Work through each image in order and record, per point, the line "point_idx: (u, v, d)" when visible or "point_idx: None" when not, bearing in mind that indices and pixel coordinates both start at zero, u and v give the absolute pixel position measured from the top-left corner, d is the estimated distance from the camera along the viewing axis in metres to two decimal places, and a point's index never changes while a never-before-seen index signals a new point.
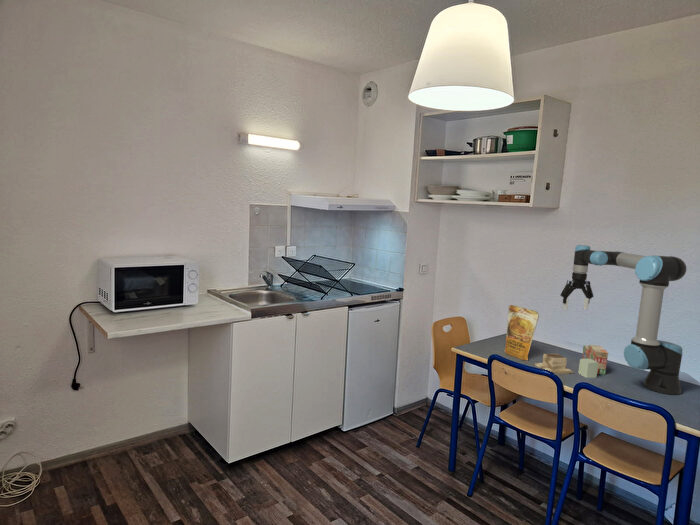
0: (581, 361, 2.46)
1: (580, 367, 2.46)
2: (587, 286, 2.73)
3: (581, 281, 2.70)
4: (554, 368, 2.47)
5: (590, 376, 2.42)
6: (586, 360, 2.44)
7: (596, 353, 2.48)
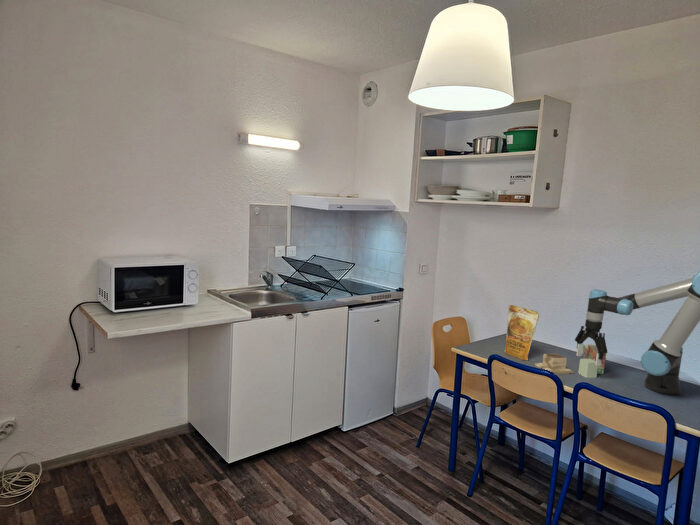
0: (581, 361, 2.46)
1: (580, 367, 2.46)
2: None
3: (592, 330, 2.41)
4: (554, 368, 2.47)
5: (590, 376, 2.42)
6: (586, 360, 2.45)
7: (594, 353, 2.49)
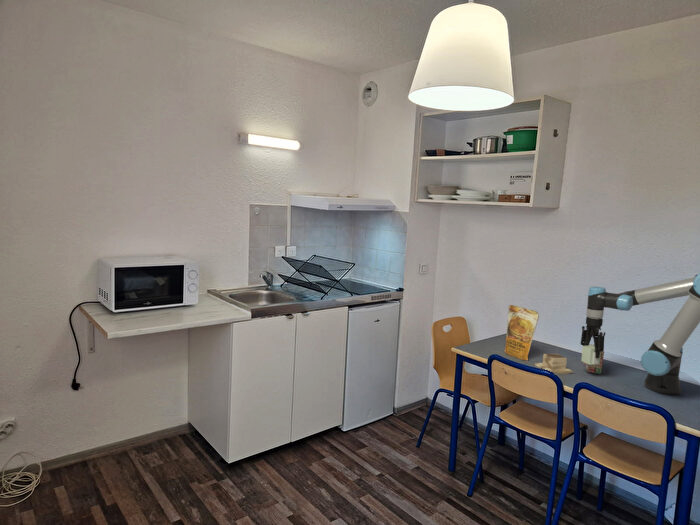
0: (584, 348, 2.44)
1: (583, 354, 2.45)
2: None
3: (594, 326, 2.40)
4: (554, 368, 2.47)
5: None
6: (589, 347, 2.43)
7: None
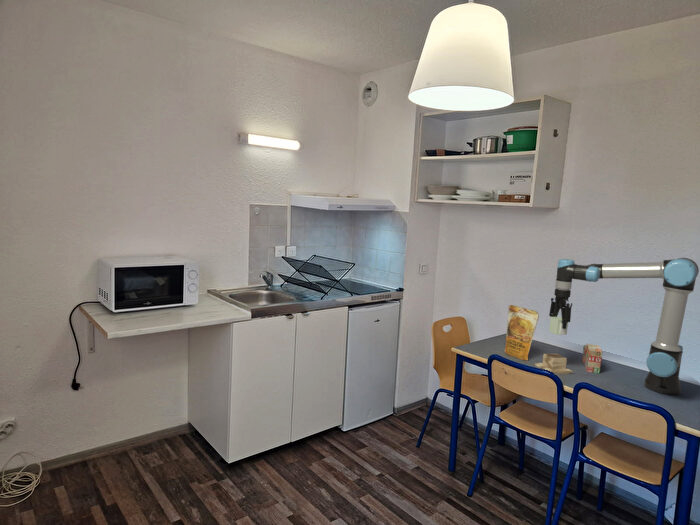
0: (552, 319, 2.50)
1: (551, 325, 2.50)
2: None
3: (561, 297, 2.46)
4: (554, 368, 2.47)
5: None
6: (556, 318, 2.49)
7: (590, 352, 2.50)
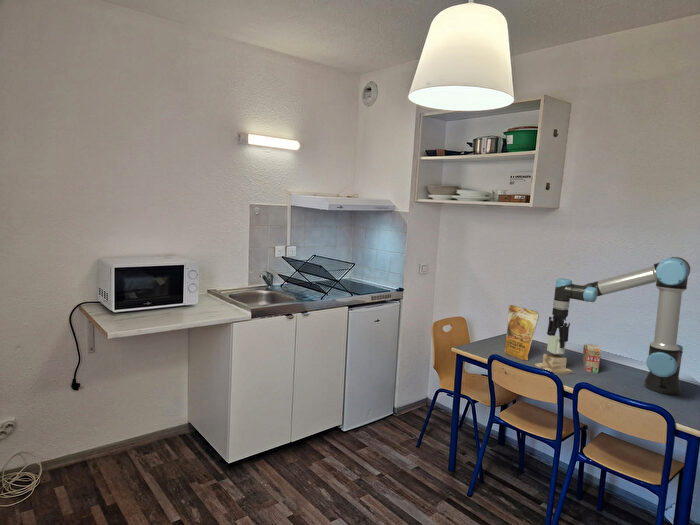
0: (549, 338, 2.51)
1: (549, 344, 2.52)
2: None
3: None
4: (554, 368, 2.47)
5: None
6: (554, 337, 2.50)
7: (589, 351, 2.50)
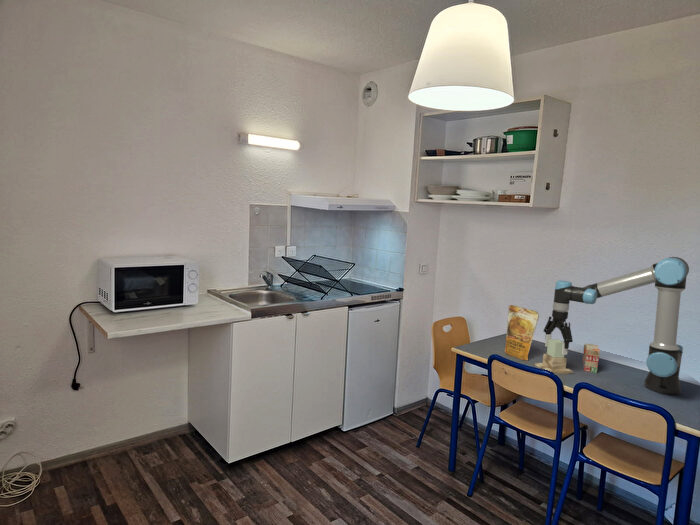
0: (549, 341, 2.51)
1: (548, 347, 2.52)
2: None
3: (558, 320, 2.47)
4: (554, 368, 2.47)
5: (558, 356, 2.48)
6: (554, 340, 2.50)
7: (587, 351, 2.51)
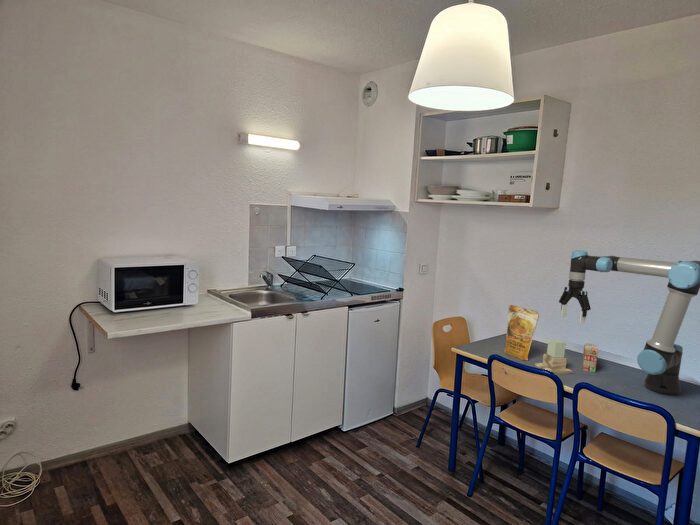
0: (549, 341, 2.51)
1: (548, 347, 2.52)
2: None
3: (575, 289, 2.50)
4: (554, 368, 2.47)
5: (558, 356, 2.48)
6: (554, 340, 2.50)
7: (586, 351, 2.51)
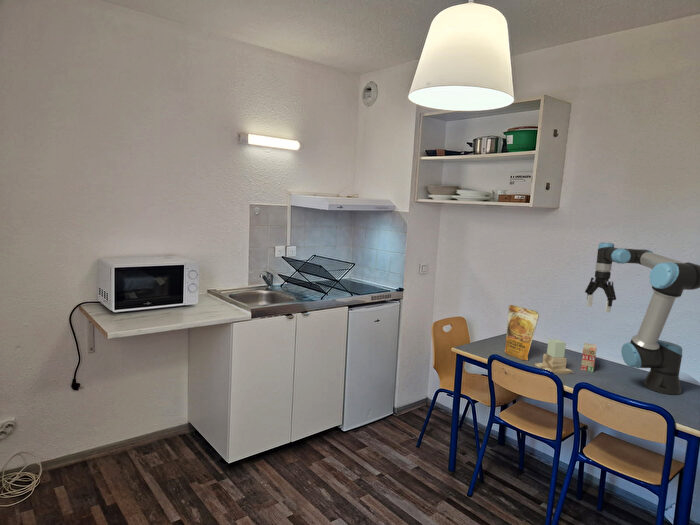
0: (549, 341, 2.51)
1: (548, 347, 2.52)
2: None
3: (601, 280, 2.60)
4: (554, 368, 2.47)
5: (558, 356, 2.48)
6: (554, 340, 2.50)
7: (584, 350, 2.52)
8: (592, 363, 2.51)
